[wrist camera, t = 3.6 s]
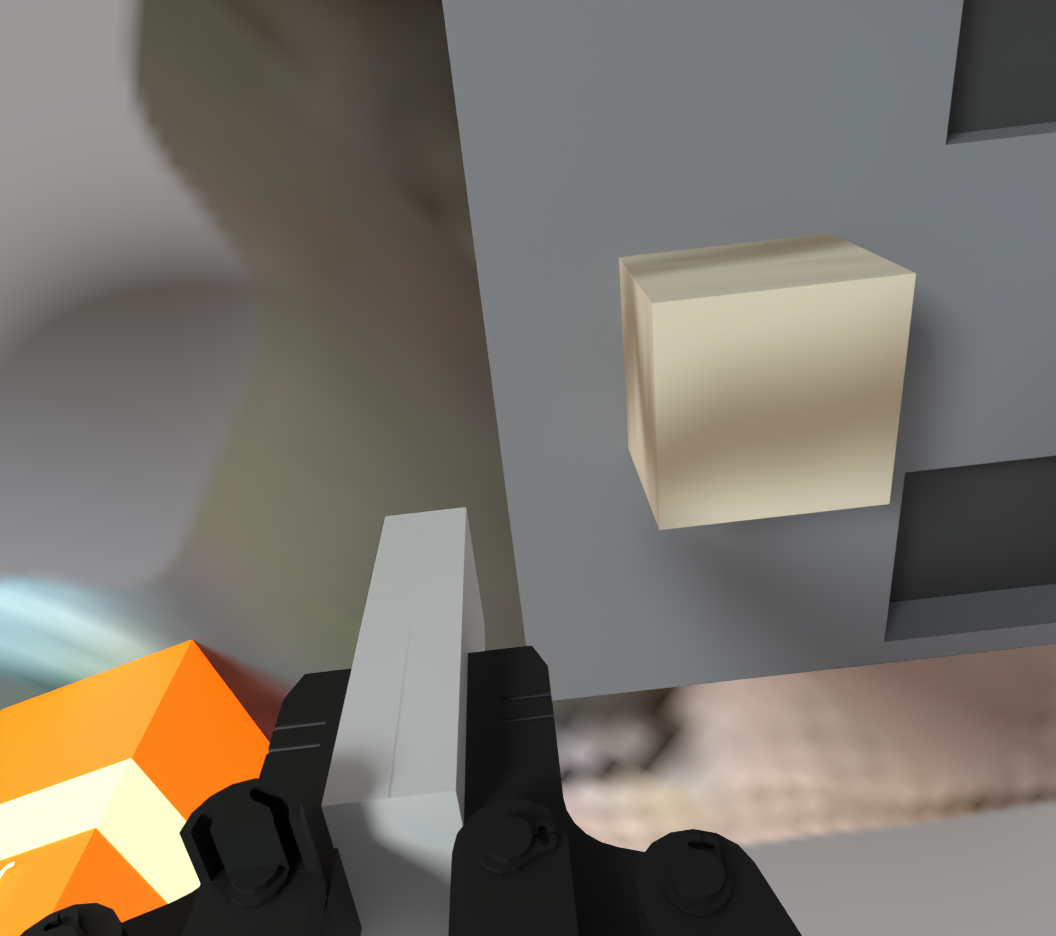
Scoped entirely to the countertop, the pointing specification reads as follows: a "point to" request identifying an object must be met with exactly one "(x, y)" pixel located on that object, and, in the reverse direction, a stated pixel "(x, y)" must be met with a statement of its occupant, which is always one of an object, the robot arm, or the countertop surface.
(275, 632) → the countertop surface
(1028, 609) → the platform
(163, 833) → the orange juice
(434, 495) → the countertop surface
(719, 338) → the birch block
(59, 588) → the countertop surface
